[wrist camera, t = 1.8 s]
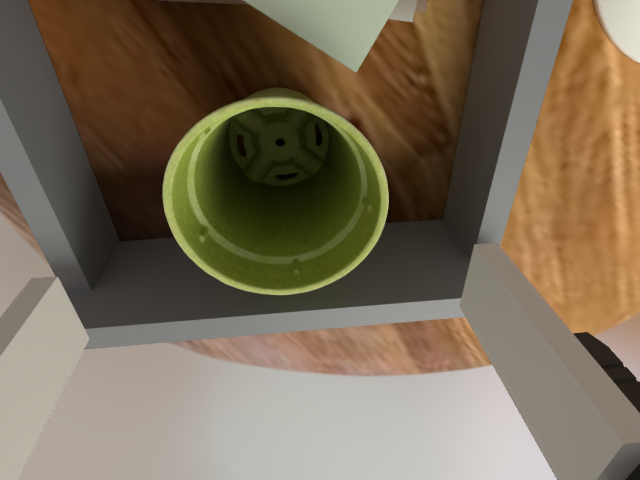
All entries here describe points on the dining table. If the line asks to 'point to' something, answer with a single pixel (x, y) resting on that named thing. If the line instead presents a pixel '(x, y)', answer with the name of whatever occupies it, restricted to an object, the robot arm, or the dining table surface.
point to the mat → (621, 24)
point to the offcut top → (332, 24)
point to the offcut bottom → (420, 4)
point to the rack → (248, 307)
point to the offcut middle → (404, 10)
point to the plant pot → (275, 194)
